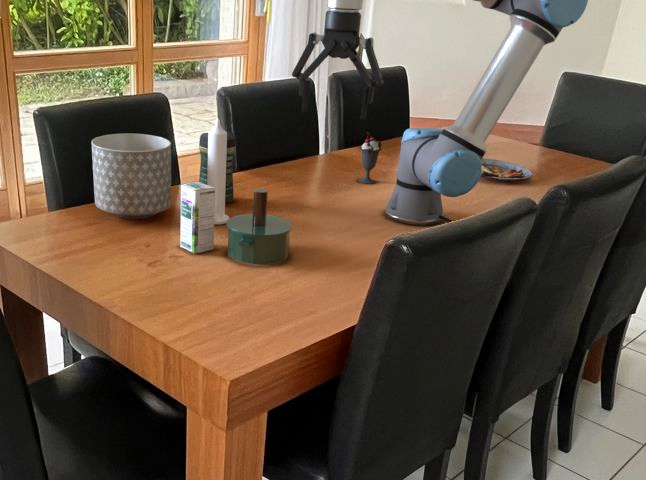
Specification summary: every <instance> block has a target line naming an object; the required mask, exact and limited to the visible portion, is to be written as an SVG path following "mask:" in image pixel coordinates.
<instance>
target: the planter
mask: <svg viewBox="0 0 646 480" xmlns="http://www.w3.org/2000/svg"><path fill="white" fill-rule="evenodd" d="M91 158H92V175H93V193H94V195H93V196H94V205H95V207H96V208H98V209H99V210H101V211H104V212H106V213H109V214H111V215H112V216H115V217H117V218H120V219H124V220H131V221H138V220H144V219H148V218H151V217H153V216H155V215H158V214H159V213H161V212H165V211H167V210H168V209H169V208H170V207H171V205H172V143H171V141H170V140H168V139H167V138H164V137H162V136H158V135H152V134H146V133H145V134H144V133H111V134H104V135H101V136H97V137H94V138H93V139H92V140H91Z"/></svg>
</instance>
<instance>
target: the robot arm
mask: <svg viewBox="0 0 646 480" xmlns="http://www.w3.org/2000/svg"><path fill="white" fill-rule="evenodd" d="M363 1H364V0H326V5H325V6H326V8H327V9H328V10H326V12H325V18H324V28H323V29H324V31H323V34H319V33H318V34H317V32H312V33H310V34H309V35H308V40H307V44H306V47H304V50H303V51H302V54H301V56H300V58H299V59H298V61H297V63H296V65H295V67H294V69H293V70H292V72H291V77H293V78H295V79H297V80H298V81H299V86H298V96H299V97H302V100H301V101H302V102H301V113H302V114H305V113H307V112H309V103H310V90H311V80H308V78H309V77H310V76H311V75H312V74H314V72H315V70H317V69H318V67H319V66H320V65H321V64H322V63H323V62H324V61H325V59H327V58H328V57H330V58H332V59H337V58H339V59H342V60H347V59H349V60H350V62H352V64H353V66H354V68H355V69H356V70H357V72H358V74H359V75H360V77H361V79H362V80H363V82H364V83H365V85H366V86H365V87H363V93H362V101H361V109H360V110H361V111H360V118H359V119H360V120H365V119H367V115H368V107H369V106H368V105H369V104H370V105H371V104H373V101H374V95H375V88H377V87H381V86H382V85H383V84H384V82H385V80H384V78H383V74H382V71H381V69H380V66H379V65H380V64H379V62H378V58H377V55H376V53H375V50H374V38H373V37H367V38H361V36H360V30H361V21H362V14H361V12H359V11H361V10H362V9H363V4H364V3H363ZM473 2H479V3H480V4H481V6H482V7H483V8H485V9H489V10H494V11H497V12H500V13H502V14H504V15H508V16H509V22H510V28H509V30H508V32H507V33H506V35H505V36H504V39H503V40H502V42H501V43H500V45H499V47H498V48H497V50H496V52H495V53H494V55H493V57H492V58H491V60H490V62H489V64H488V65H487V66H486V69H485V70H484V72H483V74H482V75H481V77H480V78H479V81H477V84H476V86H475V87H474V89H473V91H472V92H471V93H470V95H469V97H468V99H467V100H466V102H465V104H464V105H463V107H462V109H461V110H460V112H459V114H458V115H457V118H456V119H455V120H454V122H453V124H451V125H448V126H445V127H443V128H438V127H437V128H436V127H435V128H434V127H410V128H407V129H405V131H404V132H403V135H402V139H401V141H400V144H401V145H400V152H399V160H398V166H397V174H396V182H395V187H394V188H393V190H392V192H391V195H390V197H389V199H388V201H387V203H386V206H385V210H384V215H385V216H386V217H387V218H388V219H390V220H392V221H395V222H398V223H401V224H406V225H413V226H431V225H436V224H439V223H441V222H442V221H444V222H447V223H449V222H451V221H454V220H453V219H450V218H448V217H445V216H444V209H443V202H442V196H444V197H447V198H458V197H461V196H464V195H466V194H468V193H469V192H471V191H472V190H473V189H474V188H475V187H476V185H478V183H479V181H480V180H481V178H482V177H481V174H482V169H481V166H482V163H481V159H482V158H484V156H485V155H486V152H487V149H486V141H487V139H488V138H489V136H490V134H491V133H492V131H493V129H494V128H495V126H496V125H497V123H498V121H499V120H500V118H501V117H502V115H503V113H504V112H505V110H506V108H507V106H509V104H510V102H511V100H512V99H513V97H514V96H515V93H516V92H517V90H518V88H519V87H520V85H521V84H522V82H523V81H524V79H525V78H526V76H527V74H528V72H529V71H530V69H531V68H532V66H533V64H534V63H535V61H536V59H537V58H538V56H539V55H540V53H541V51H542V49H543V48H544V46H545V45H548V44H551V43H554V42H555V41H556V40H557V38H558V36H559V35H560V33H561V31H562V30H563V28H566V27H570V26H571V25H573V24H575V23H577V22H578V21H579V20H580V19H581V17H582V16H583V15H584V13H585V11H586V8H587V6H588V3H589V0H473ZM320 42H321V43H322V45H323V48H324V49H323V50H322V51H321V52H320V53H319V54H318V56H317V57H315V59H314V60H313V61H312V62H311V64H310V65H308V67H307V68H306V69H305V70H304V67H305V66H306V64H307V62H308V60H309V58H310V57H311V55H312V53H313V51H314V49H315V48H316V45H318V44H319V43H320ZM360 45H361V47H362V49H363V50H365V53H366V57H367V60H368V64H369V66H370V70H371V72H372V76H373V77H372V76H371V74H370V72H369V70H368V69H367V67H366V66H365V64H364V62H363V61H362V59H361V57H360V55H359V53H358V52H357V49H358V48H359V47H360ZM303 70H304V71H303Z"/></svg>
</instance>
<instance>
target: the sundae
mask: <svg viewBox="0 0 646 480" xmlns="http://www.w3.org/2000/svg"><path fill="white" fill-rule="evenodd" d="M366 135H368V136H367V137H366V138H365V142H364V143H363V144H362V145H361V146H359V150H360V151H361V166H362V167H363V169H364V170H365V176H364V177H363V178H359V180H358V182H359V183H362V184H365V185H366V184H368V185H370V184H375V182H376V180H373V179H371V177H370V173H371V171H372V170H373V169H374V168H375V167H376V165H377V161H378V158H379V154H380V152H381V151H382V141H381V140H379V141H377V140H376V139H375V138H374V137H373V136H371V134H370V132H369V131H366ZM369 136H370V138H369Z"/></svg>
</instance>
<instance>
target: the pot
mask: <svg viewBox="0 0 646 480" xmlns="http://www.w3.org/2000/svg"><path fill="white" fill-rule="evenodd" d="M290 235H291V231H290V232H289V233H287V234H285V235H282V236H277V237H267V238H260V237H249V236H244V235H240V234H237V233H234V232H232V231H230V230H229V229H228V228H227V256H228V257H230V258H231V259H233V260H235V261H238V262H241V263H244V264H250V265H271V264H278V263H281V262H283V261H285V260H286V259H287V258H288V257H289V249H290Z"/></svg>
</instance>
